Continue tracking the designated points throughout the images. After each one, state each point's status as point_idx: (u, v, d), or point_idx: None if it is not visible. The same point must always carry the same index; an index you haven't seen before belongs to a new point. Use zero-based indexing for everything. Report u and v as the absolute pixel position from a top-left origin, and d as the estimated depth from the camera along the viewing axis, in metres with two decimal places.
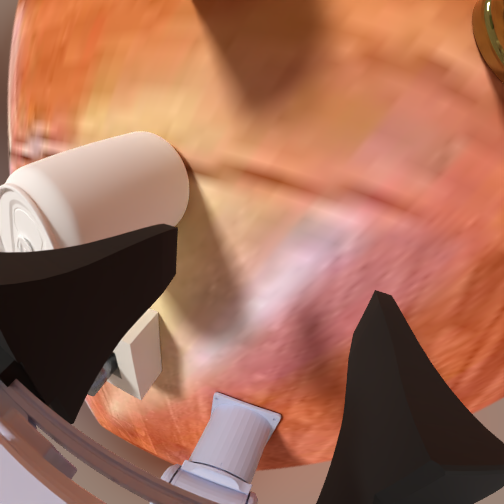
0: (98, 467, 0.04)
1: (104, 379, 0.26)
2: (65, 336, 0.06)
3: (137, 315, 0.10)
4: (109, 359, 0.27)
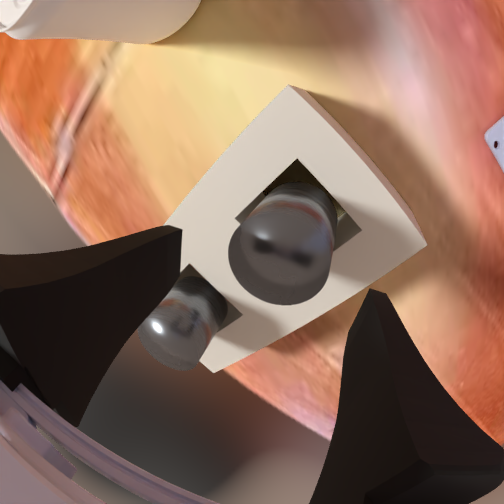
0: (98, 467, 0.04)
1: (321, 214, 0.12)
2: (70, 339, 0.06)
3: (142, 317, 0.10)
4: (302, 187, 0.14)
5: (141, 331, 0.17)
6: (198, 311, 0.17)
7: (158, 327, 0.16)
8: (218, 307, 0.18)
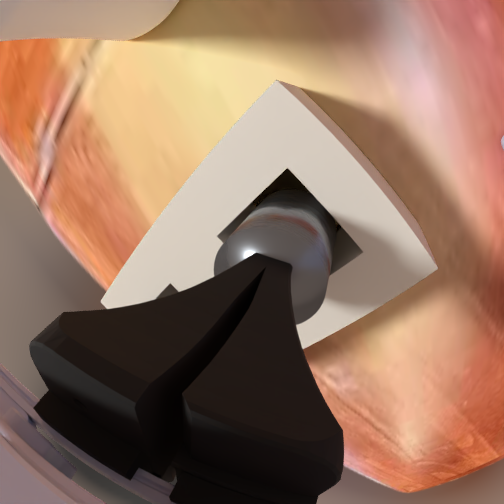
0: (98, 467, 0.04)
1: (318, 227, 0.11)
2: None
3: None
4: (298, 195, 0.12)
5: None
6: None
7: None
8: None
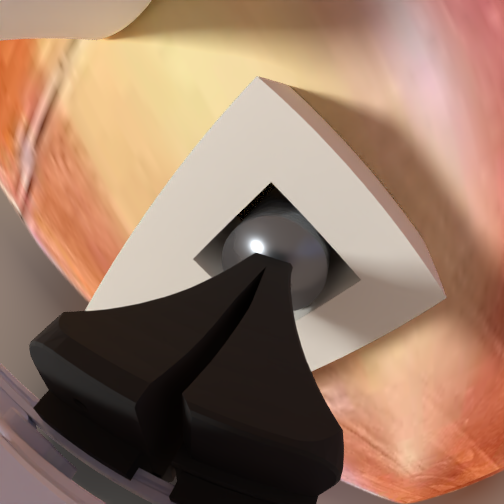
0: (98, 467, 0.04)
1: None
2: None
3: None
4: None
5: None
6: None
7: None
8: None
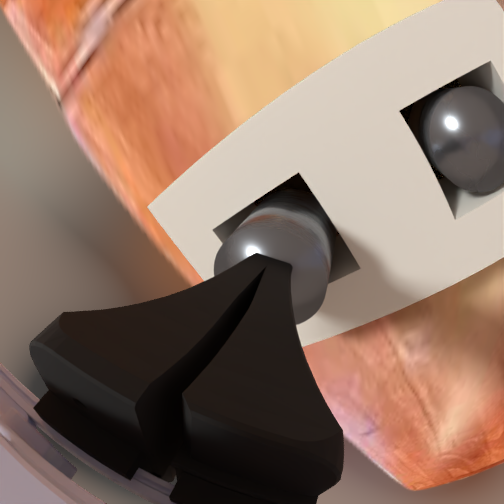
0: (98, 467, 0.04)
1: None
2: None
3: None
4: None
5: (224, 254, 0.10)
6: (323, 232, 0.11)
7: (267, 246, 0.10)
8: (334, 236, 0.13)
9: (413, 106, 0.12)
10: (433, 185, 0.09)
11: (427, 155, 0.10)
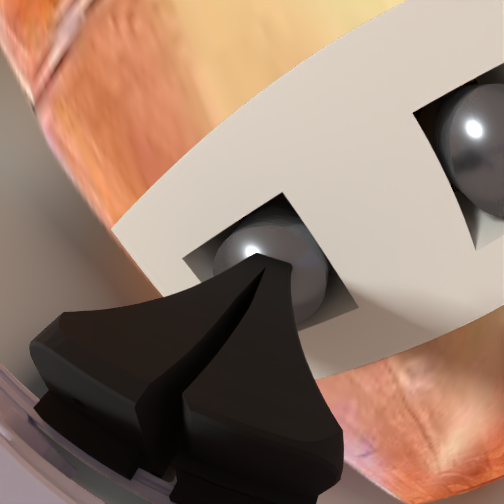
0: (98, 467, 0.04)
1: None
2: None
3: None
4: None
5: (224, 254, 0.10)
6: None
7: (266, 246, 0.10)
8: None
9: (424, 107, 0.10)
10: (452, 209, 0.07)
11: (444, 168, 0.08)
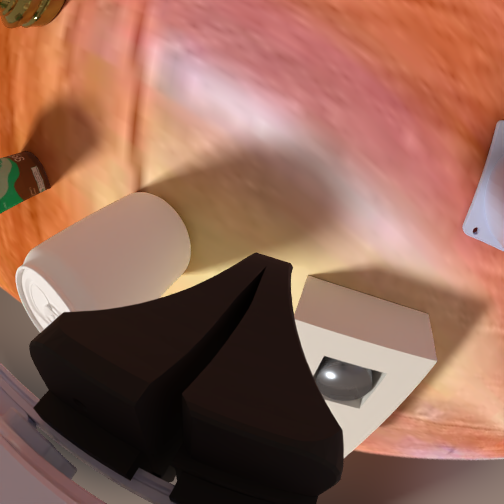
0: (98, 467, 0.04)
1: None
2: None
3: None
4: None
5: None
6: None
7: None
8: None
9: None
10: (338, 405, 0.20)
11: None
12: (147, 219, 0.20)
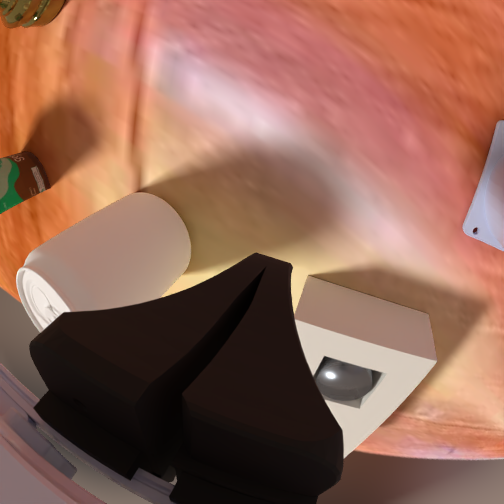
0: (98, 467, 0.04)
1: None
2: None
3: None
4: None
5: None
6: None
7: None
8: None
9: None
10: (338, 405, 0.20)
11: None
12: (147, 219, 0.20)
